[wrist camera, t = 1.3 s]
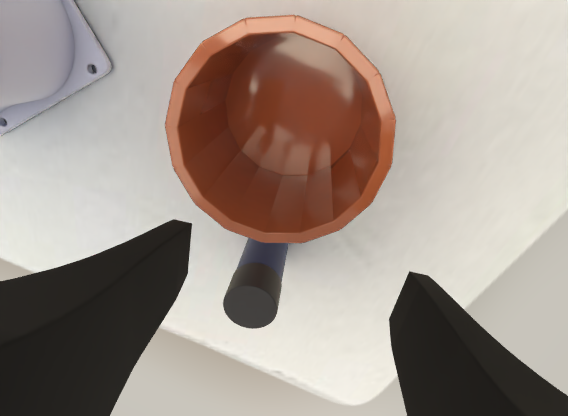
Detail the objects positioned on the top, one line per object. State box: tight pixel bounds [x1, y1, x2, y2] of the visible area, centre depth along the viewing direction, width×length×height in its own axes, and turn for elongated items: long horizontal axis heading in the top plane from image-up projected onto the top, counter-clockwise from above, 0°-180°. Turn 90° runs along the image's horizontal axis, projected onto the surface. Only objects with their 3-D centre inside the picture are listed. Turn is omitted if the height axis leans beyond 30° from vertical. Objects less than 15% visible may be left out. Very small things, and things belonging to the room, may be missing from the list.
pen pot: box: [165, 15, 396, 243], centre depth 16 cm, size 8×8×8 cm
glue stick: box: [223, 238, 288, 328], centre depth 20 cm, size 3×3×6 cm
